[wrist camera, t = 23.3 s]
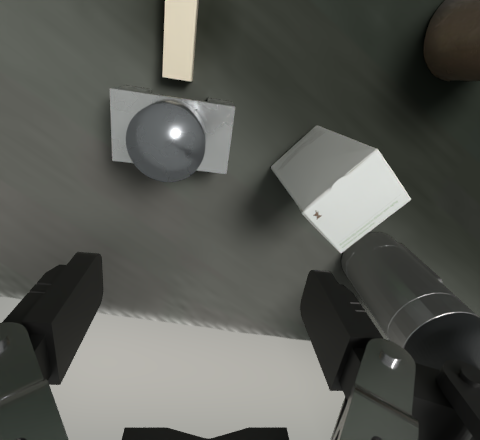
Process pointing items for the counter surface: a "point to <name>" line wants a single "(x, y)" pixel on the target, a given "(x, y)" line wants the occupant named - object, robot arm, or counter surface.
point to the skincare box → (340, 185)
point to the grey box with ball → (170, 133)
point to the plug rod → (179, 39)
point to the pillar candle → (454, 41)
